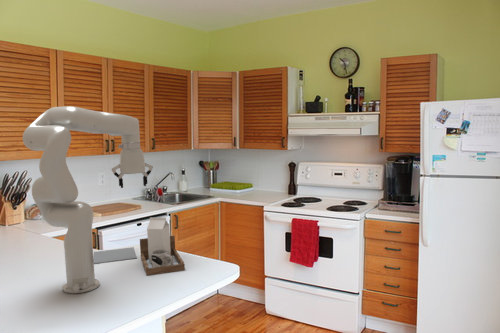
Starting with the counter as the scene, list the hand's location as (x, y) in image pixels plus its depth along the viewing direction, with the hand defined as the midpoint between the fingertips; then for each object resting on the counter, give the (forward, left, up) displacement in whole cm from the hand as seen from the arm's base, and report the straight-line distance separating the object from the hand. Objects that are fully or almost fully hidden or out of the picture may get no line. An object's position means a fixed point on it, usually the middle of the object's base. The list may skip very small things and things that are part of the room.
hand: (133, 186), depth 188 cm
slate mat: (+10, +9, -32) cm, 35 cm away
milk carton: (-7, -9, -32) cm, 34 cm away
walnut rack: (-12, -9, -32) cm, 35 cm away
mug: (-17, -9, -32) cm, 38 cm away
